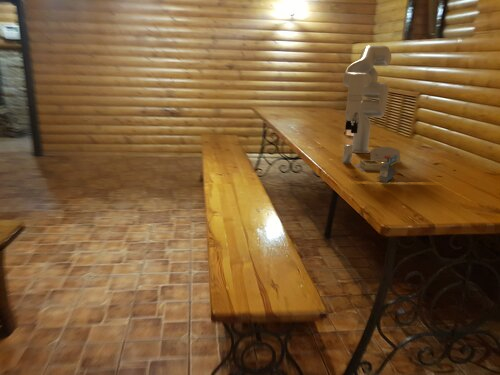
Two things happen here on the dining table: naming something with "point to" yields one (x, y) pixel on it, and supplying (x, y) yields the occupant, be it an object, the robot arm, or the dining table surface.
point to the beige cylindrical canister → (347, 153)
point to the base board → (364, 170)
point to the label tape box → (387, 170)
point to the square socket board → (373, 164)
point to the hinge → (382, 151)
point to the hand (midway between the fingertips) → (350, 131)
